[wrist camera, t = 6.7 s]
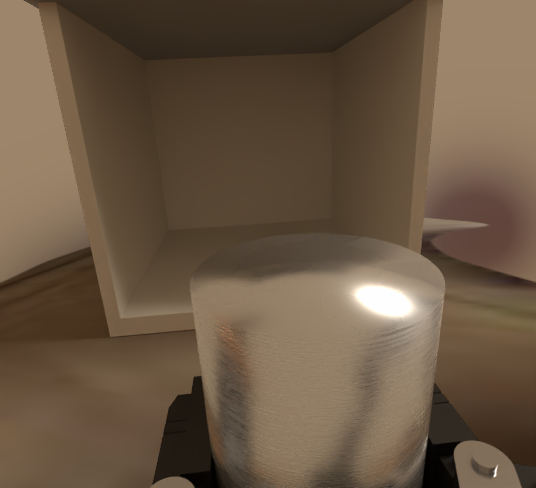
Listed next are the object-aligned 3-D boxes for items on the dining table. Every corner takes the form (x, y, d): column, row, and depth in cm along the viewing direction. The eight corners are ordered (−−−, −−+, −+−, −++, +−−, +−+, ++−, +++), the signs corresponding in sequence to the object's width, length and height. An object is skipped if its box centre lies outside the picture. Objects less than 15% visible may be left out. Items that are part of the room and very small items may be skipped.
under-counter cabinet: (339, 226, 53) (342, 34, 45) (427, 314, 29) (465, -57, 21) (160, 239, 51) (130, 42, 43) (99, 345, 27) (8, -47, 20)
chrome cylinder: (367, 514, 15) (383, 227, 11) (438, 718, 10) (512, 319, 6) (233, 531, 15) (199, 241, 11) (234, 753, 9) (172, 353, 6)
